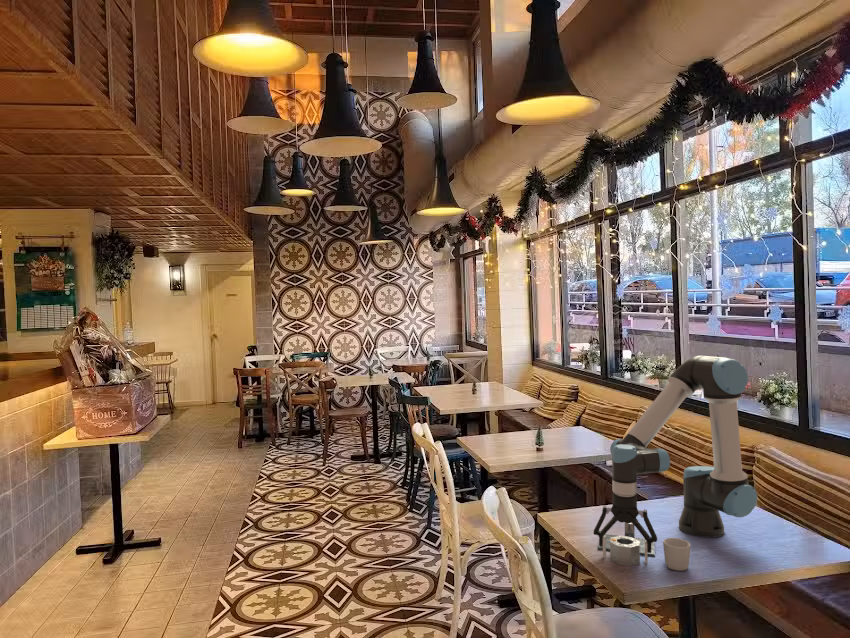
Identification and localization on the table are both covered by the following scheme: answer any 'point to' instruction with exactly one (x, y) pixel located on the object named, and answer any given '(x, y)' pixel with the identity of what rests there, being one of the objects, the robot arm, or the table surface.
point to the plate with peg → (631, 533)
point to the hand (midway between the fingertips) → (625, 559)
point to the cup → (676, 553)
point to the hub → (625, 550)
